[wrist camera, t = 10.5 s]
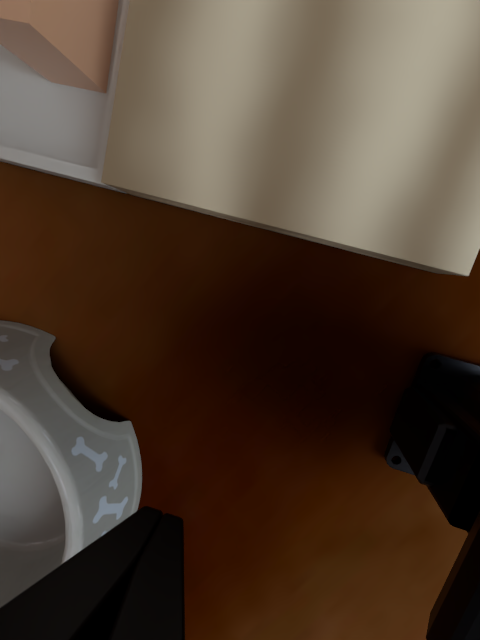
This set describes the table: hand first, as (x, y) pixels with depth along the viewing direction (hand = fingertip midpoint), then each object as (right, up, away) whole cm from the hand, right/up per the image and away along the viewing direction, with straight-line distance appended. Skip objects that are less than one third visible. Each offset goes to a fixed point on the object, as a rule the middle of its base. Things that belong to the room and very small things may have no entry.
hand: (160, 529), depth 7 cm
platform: (+5, +15, +9) cm, 18 cm away
